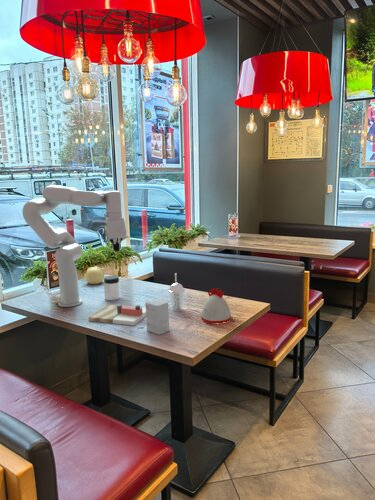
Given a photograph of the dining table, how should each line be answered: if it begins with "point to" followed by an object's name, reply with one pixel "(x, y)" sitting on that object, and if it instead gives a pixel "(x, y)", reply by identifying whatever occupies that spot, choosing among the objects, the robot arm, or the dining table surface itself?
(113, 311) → the tan wavy block
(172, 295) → the cup with straw
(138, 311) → the swing bar
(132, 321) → the door
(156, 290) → the dining table surface
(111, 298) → the jar
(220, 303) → the kitchen timer
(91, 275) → the pale yellow ball
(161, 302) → the small box
